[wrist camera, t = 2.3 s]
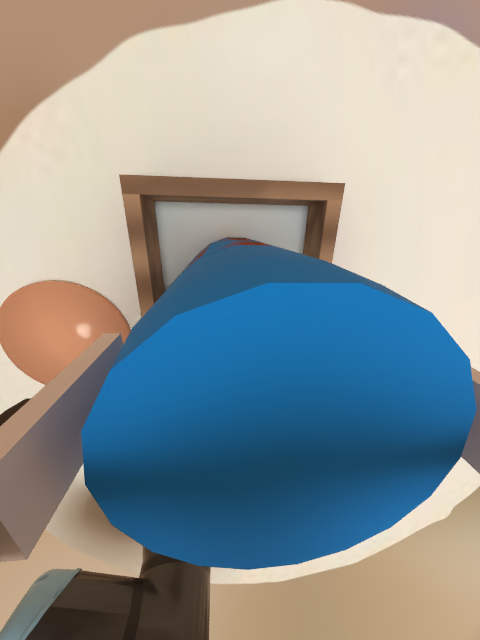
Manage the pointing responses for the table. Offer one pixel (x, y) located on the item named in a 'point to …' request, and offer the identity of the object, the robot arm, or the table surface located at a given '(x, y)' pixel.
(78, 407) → the robot arm
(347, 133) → the table surface
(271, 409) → the thermos
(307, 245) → the frame
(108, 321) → the terracotta disc
